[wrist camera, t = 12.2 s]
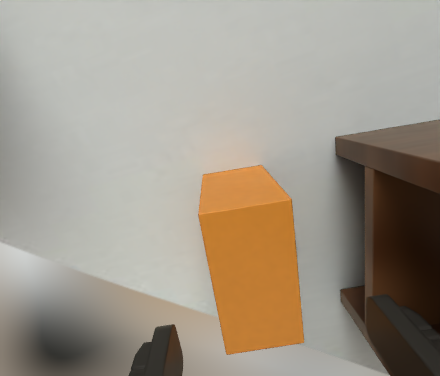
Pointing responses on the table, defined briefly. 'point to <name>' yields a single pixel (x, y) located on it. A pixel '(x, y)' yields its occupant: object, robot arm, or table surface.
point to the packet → (251, 259)
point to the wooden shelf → (398, 219)
